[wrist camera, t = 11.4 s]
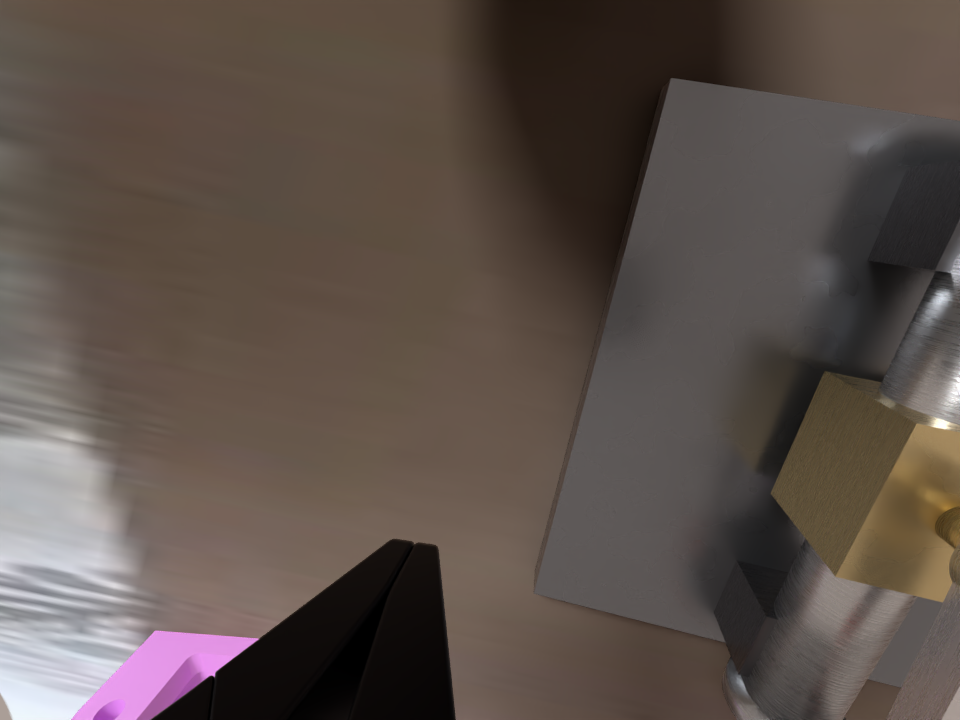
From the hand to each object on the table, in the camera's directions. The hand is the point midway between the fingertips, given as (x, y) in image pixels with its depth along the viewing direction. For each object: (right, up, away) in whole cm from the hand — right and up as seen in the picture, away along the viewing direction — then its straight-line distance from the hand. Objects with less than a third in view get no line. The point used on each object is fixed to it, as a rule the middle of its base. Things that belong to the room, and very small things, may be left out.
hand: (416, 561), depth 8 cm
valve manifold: (+15, +1, +11) cm, 19 cm away
